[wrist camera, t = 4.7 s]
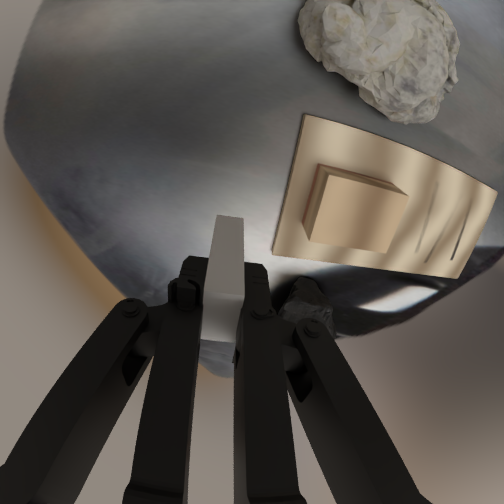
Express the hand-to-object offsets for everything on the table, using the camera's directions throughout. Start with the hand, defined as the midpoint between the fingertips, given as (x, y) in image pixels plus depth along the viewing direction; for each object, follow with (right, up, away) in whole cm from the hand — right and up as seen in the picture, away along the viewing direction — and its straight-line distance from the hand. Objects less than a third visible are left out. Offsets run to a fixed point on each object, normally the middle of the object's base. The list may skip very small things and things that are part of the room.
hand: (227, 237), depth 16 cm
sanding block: (+11, +4, +9) cm, 14 cm away
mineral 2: (+11, +18, +1) cm, 21 cm away
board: (+18, +3, +10) cm, 21 cm away
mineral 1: (+7, -8, +18) cm, 21 cm away
